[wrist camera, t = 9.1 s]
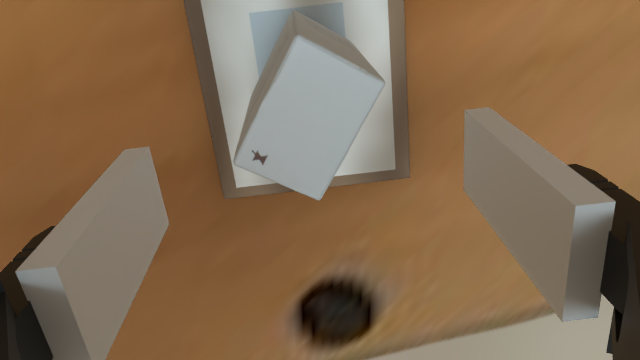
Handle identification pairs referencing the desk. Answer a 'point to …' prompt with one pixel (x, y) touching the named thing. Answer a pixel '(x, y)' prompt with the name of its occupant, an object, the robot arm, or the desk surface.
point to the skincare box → (306, 107)
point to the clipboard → (250, 59)
